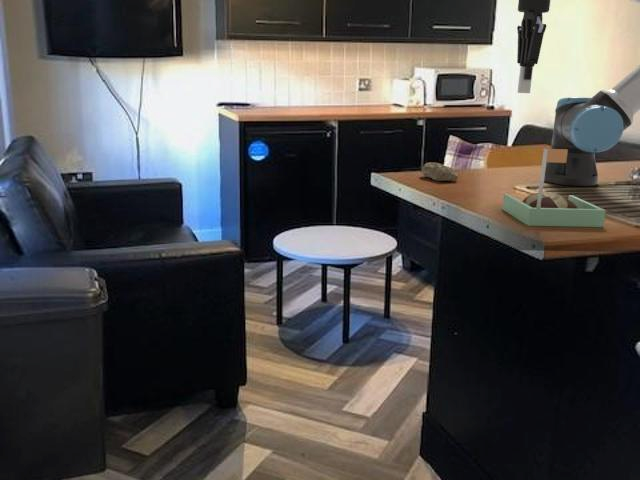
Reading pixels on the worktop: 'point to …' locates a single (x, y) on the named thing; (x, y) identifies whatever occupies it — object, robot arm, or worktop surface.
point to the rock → (439, 172)
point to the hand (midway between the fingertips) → (523, 92)
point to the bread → (550, 201)
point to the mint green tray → (554, 216)
